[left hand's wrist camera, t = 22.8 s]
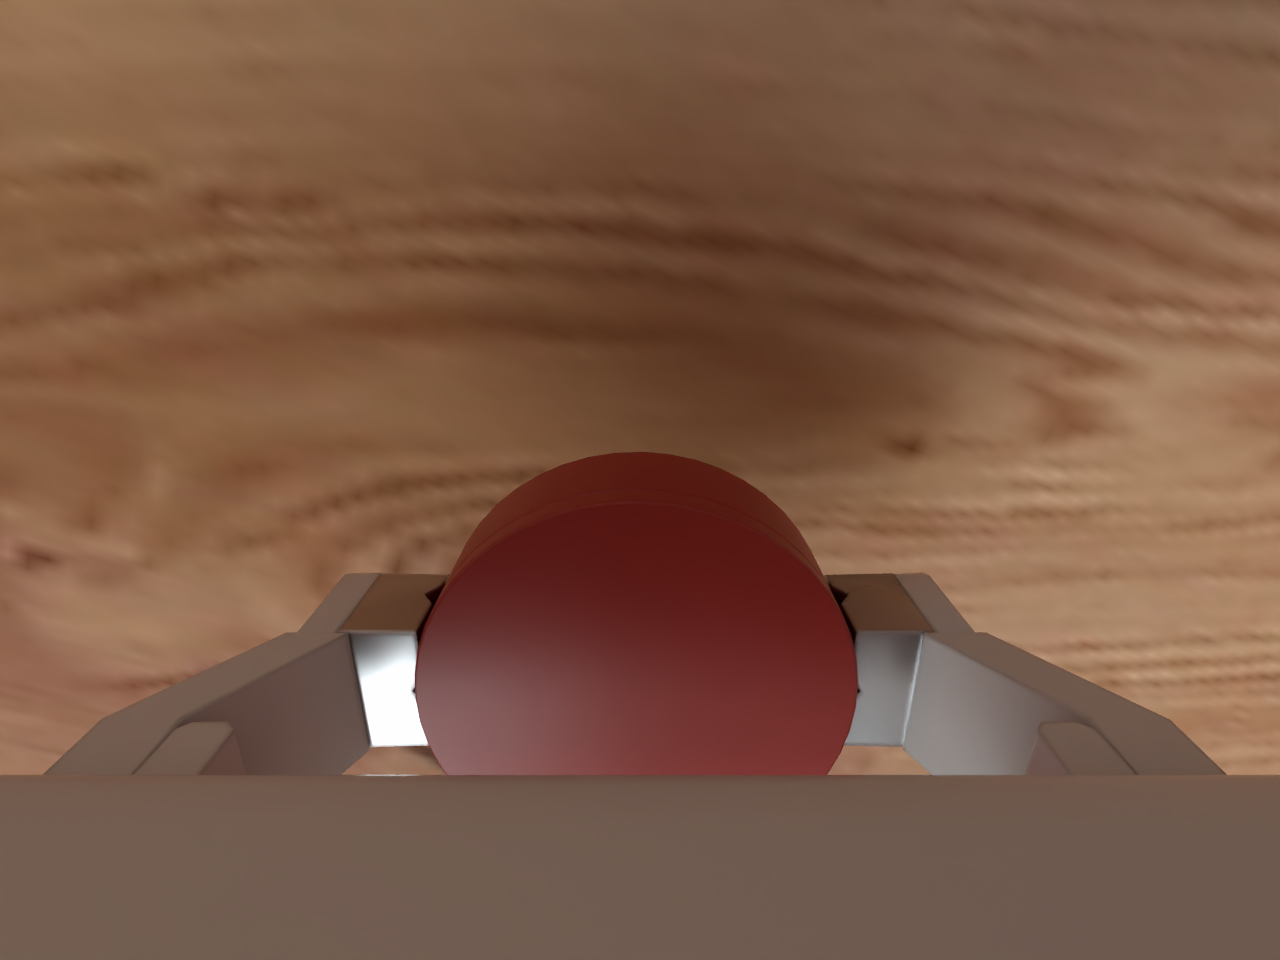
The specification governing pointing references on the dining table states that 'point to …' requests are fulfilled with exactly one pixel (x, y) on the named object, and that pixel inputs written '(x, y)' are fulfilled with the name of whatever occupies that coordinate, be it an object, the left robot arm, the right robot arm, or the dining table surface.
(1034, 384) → the dining table surface
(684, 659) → the lid
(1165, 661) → the dining table surface
